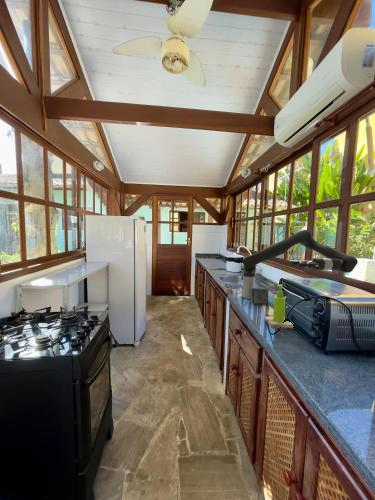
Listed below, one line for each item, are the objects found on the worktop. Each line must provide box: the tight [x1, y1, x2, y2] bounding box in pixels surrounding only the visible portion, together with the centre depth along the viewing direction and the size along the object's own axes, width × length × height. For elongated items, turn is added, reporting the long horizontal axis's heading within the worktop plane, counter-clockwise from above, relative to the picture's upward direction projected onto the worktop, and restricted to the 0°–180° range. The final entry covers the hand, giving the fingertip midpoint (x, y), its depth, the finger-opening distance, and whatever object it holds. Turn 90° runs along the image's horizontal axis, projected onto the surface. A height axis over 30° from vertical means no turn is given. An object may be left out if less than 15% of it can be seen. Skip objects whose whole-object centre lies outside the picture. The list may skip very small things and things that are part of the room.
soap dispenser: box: [272, 283, 287, 322], centre depth 125 cm, size 6×7×20 cm
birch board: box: [263, 315, 294, 329], centre depth 125 cm, size 12×12×2 cm
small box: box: [251, 287, 269, 305], centre depth 161 cm, size 11×6×10 cm, turn 84°
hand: (295, 263), depth 137 cm, fingers open, 8 cm apart
